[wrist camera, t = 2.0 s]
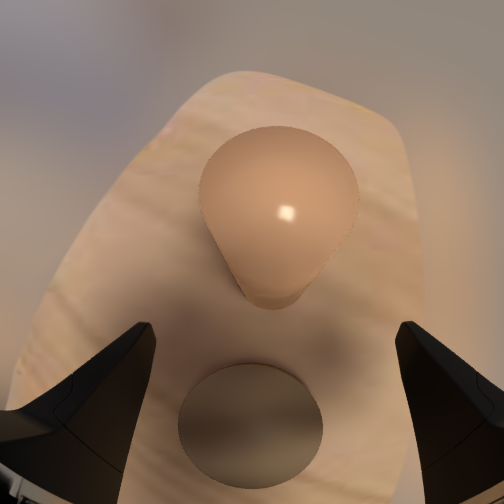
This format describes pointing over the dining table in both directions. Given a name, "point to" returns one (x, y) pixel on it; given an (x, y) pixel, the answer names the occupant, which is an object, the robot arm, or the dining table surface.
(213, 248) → the dining table surface
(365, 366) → the dining table surface
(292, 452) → the stand
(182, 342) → the dining table surface
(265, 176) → the tan tapered cylinder
